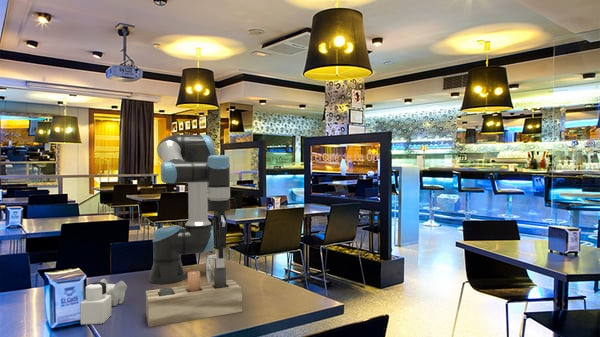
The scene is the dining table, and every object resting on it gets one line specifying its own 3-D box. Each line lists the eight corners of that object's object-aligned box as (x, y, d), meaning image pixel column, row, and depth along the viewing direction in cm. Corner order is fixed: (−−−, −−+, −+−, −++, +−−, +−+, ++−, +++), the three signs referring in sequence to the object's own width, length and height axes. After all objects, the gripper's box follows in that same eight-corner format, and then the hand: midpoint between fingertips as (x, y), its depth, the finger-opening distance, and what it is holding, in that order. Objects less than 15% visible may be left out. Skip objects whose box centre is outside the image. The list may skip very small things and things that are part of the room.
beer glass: (220, 298, 154) (219, 258, 154) (202, 297, 155) (202, 257, 155) (227, 292, 161) (226, 254, 161) (210, 291, 162) (210, 254, 162)
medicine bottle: (89, 316, 136) (89, 280, 136) (111, 315, 137) (111, 280, 137) (80, 324, 129) (79, 287, 129) (103, 323, 129) (102, 286, 129)
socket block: (145, 314, 137) (145, 290, 137) (232, 301, 150) (232, 279, 150) (148, 327, 126) (148, 301, 126) (242, 311, 139) (241, 288, 139)
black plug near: (159, 312, 135) (159, 288, 135) (172, 310, 137) (171, 287, 137) (160, 316, 132) (160, 292, 132) (173, 314, 133) (173, 290, 133)
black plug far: (213, 290, 143) (213, 268, 143) (224, 288, 144) (224, 266, 144) (215, 293, 139) (215, 270, 139) (227, 291, 141) (227, 269, 141)
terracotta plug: (187, 294, 139) (186, 271, 139) (198, 292, 141) (198, 269, 141) (189, 297, 135) (188, 273, 135) (201, 295, 137) (200, 272, 137)
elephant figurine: (86, 308, 144) (86, 283, 144) (113, 298, 155) (113, 275, 155) (106, 311, 141) (106, 286, 141) (132, 301, 152) (132, 277, 152)
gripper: (204, 198, 146) (205, 264, 146) (212, 201, 134) (213, 272, 134) (225, 198, 149) (226, 262, 149) (234, 200, 137) (235, 269, 137)
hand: (220, 267), depth 142 cm, fingers closed
